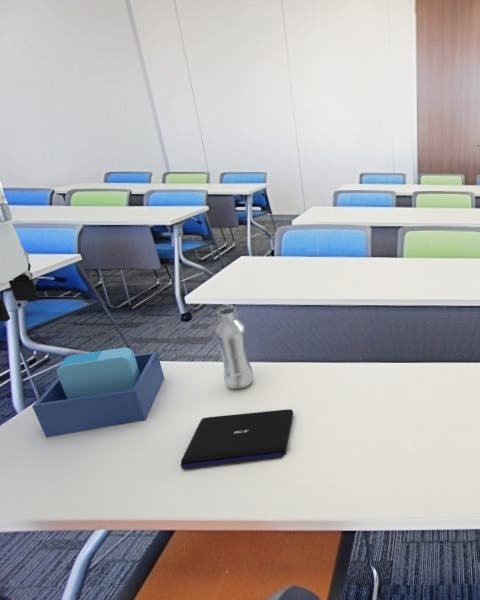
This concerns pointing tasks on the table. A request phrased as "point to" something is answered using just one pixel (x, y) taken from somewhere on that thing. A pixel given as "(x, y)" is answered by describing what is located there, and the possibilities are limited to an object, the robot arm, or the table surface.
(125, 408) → the blue bin
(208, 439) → the laptop
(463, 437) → the table surface
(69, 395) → the light blue rounded block
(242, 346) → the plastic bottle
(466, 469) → the table surface
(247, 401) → the table surface
